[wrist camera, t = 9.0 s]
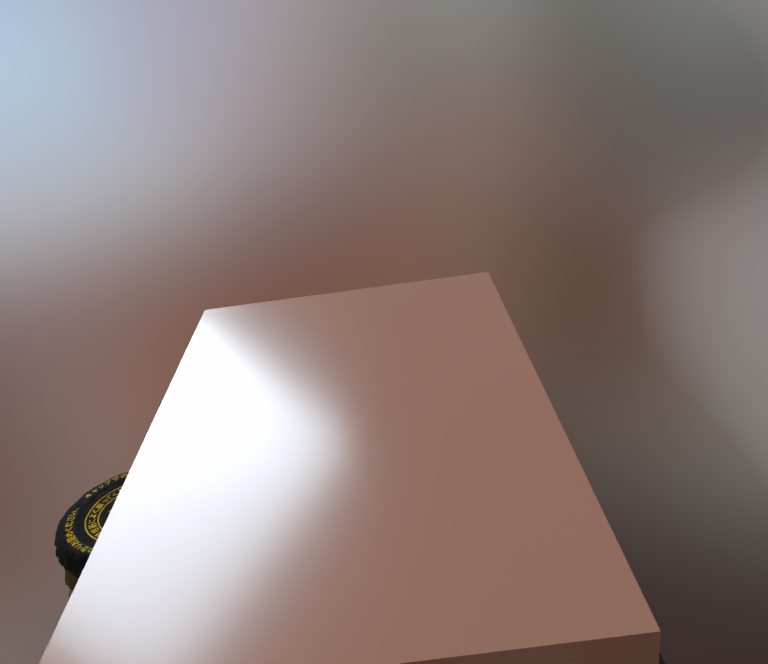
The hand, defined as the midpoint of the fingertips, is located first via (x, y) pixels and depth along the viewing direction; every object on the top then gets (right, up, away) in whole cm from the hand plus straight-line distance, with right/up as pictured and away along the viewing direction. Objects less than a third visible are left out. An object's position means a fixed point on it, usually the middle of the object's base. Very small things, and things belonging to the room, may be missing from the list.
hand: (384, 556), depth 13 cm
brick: (+1, -7, 0) cm, 7 cm away
